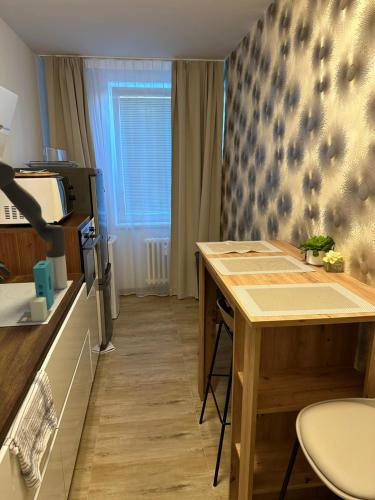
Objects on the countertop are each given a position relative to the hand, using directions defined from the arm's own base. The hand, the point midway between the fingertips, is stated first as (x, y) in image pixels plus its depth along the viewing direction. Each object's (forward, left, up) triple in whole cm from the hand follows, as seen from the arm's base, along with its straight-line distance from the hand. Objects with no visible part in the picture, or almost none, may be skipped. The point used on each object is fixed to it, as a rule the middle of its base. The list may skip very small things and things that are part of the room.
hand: (6, 278), depth 142 cm
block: (-14, +10, -19) cm, 26 cm away
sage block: (0, +11, -18) cm, 22 cm away
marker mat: (-3, +8, -19) cm, 21 cm away
